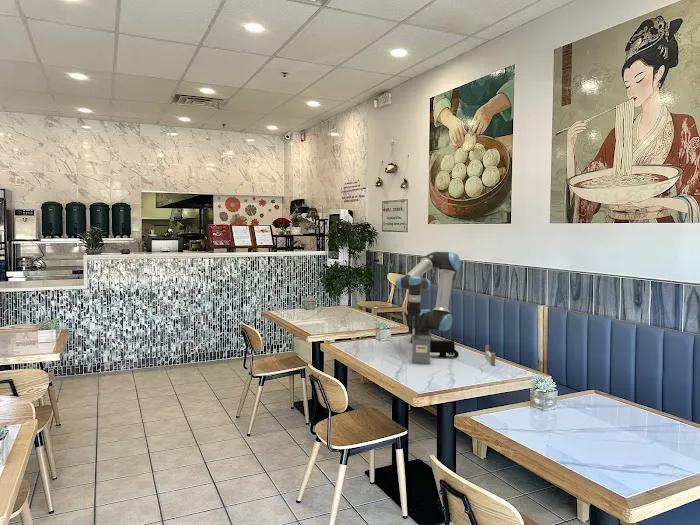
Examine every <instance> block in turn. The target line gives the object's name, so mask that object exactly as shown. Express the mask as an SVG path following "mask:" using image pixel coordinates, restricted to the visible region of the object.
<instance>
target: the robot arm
mask: <svg viewBox="0 0 700 525" xmlns="http://www.w3.org/2000/svg"><path fill="white" fill-rule="evenodd" d="M460 265H461V264H460V257H459V255H458V254H457V253H456V252H451V251H433V252H430V253H428V254H426V255H424V256H423V257H421V259H420V261H419V263H417V264H416V265H415V266H414V267H413V268H412V269H411V270H410V271H409V272H407V273H406V274H404V276H399V277H397V278H396V279H395V287H396V288H397V289H401V290H408V299H407V300H408V303H407V305H408V306H407V310H406V311H404V312H403V315H404V316H405V320H406V325H407V328H409V329H410V332H409V333H410V335H411V337H410V343H411V344H412V341H413V340H412V335H425V336H430V338H431V340H433V338H432V334H431V330H433V331H439V332H442V331H443V332H446V331H448V330H449V329H450V328H451V327H452V324H453V315H452V314H451V311H450V310H449V306H450V296H451V290H452V283H453V276H454V274H455V273H456V271H457V270H459V268H460V267H461V266H460ZM432 269H437V270H438V272H439V277H438V278H439V279H438V286H437V296H436V301H435V307H434V308H433V309H432V310H431V309H430V308H429V309H428V308H427V309H421V298H422V297H421V294H422V292H423V291H424V292H425V291H428V290H429V289H430V288H431V285H432V284H431V281H430V280H429V279H428V278H421V277H422V276H423V275H424V274H425V273H426V272H427V271H430V270H432ZM408 315H409V316H410V322H409V316H408Z"/></svg>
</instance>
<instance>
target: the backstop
mask: <svg viewBox="0 0 700 525" xmlns="http://www.w3.org/2000/svg"><path fill="white" fill-rule="evenodd" d="M484 348H485V350H484V351H485V352H484V357H485V359H486V360H487V362H488V364H490V366H493V367H494V366H496V352H490V345H485V347H484Z"/></svg>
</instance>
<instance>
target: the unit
mask: <svg viewBox="0 0 700 525" xmlns="http://www.w3.org/2000/svg"><path fill="white" fill-rule="evenodd" d="M411 336H412V340H413V341H412V343H411V344H412V349H411V351H412V353H411V360H412V364H413V365H414V364H415V365H416V364H417V365H420V364H421V365H430V363H431V353H430V341H431V338H430V336H425V335H412V334H411Z"/></svg>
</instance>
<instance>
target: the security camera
mask: <svg viewBox="0 0 700 525" xmlns="http://www.w3.org/2000/svg"><path fill="white" fill-rule="evenodd" d="M455 343H456V342H455V341H454V340H441V339H440V340H433V339H432V340H431V341H430V354H437V353H438V354H439V355H438V358H447V355H448V356H449V355H450V356H452V358H453V359H455V358H456V359H457V358H458V357H460V356H459V354H460V352H458V351H457V349H456V346H455Z"/></svg>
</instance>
